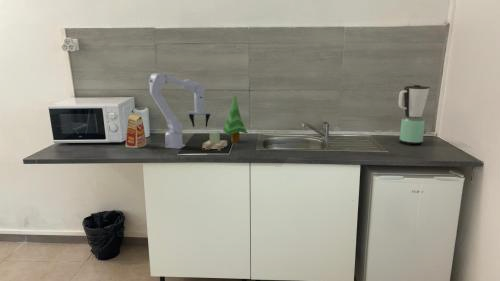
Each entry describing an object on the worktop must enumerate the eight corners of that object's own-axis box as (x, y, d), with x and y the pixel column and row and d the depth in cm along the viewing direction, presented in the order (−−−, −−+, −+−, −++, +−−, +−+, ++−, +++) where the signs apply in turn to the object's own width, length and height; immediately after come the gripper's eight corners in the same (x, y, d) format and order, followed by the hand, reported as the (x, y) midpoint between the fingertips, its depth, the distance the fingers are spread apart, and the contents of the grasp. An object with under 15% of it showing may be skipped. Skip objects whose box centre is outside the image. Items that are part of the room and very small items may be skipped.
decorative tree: (251, 140, 228) (251, 92, 221) (236, 145, 215) (235, 95, 208) (234, 137, 235) (234, 91, 228) (218, 142, 223) (217, 93, 216)
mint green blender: (415, 139, 230) (421, 84, 221) (430, 145, 217) (437, 86, 209) (388, 141, 226) (394, 84, 217) (402, 146, 213) (408, 86, 205)
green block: (209, 143, 210) (209, 132, 209) (212, 141, 214) (212, 131, 213) (217, 143, 209) (216, 133, 207) (219, 141, 213) (219, 131, 212)
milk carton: (125, 146, 214) (122, 113, 209) (135, 143, 222) (133, 110, 217) (138, 148, 211) (135, 114, 206) (148, 144, 219) (145, 111, 214)
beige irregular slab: (202, 148, 209) (202, 143, 208) (210, 144, 219) (210, 139, 219) (220, 150, 206) (220, 145, 205) (227, 145, 216) (227, 140, 215)
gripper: (186, 105, 212) (187, 128, 215) (211, 105, 212) (211, 127, 216) (187, 103, 218) (188, 125, 222) (211, 103, 219) (212, 125, 222)
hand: (200, 126), depth 219 cm, fingers open, 7 cm apart
